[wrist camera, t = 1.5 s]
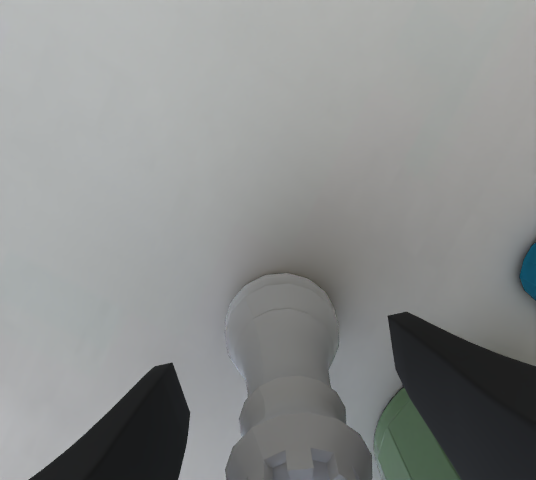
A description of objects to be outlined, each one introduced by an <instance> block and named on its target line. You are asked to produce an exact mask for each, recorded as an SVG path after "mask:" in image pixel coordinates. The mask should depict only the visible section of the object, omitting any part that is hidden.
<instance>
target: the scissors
mask: <svg viewBox="0 0 536 480" xmlns="http://www.w3.org/2000/svg"><path fill="white" fill-rule="evenodd" d="M520 279H521V282H522V285H523V288H524V290H525V291H526V292H527V293H528V294H529V295H530V296H531V297H532V298H533V299H534V300H536V243H535V244H533V245H532V246H531V248H530V250H529V251H528V253H527V255H526V256H525V258H524V261H523V265H522V269H521V273H520Z"/></svg>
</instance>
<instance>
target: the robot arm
mask: <svg viewBox="0 0 536 480" xmlns="http://www.w3.org/2000/svg"><path fill="white" fill-rule="evenodd" d="M388 321H389V328H390V335H391V342H392V348H393V355H394V362H395V369H396V371H397V373H398V375H399V377H400V380H401V382H402V384H403V386H404V388H405V390H406V392H407V394H408V396H409V398H410V399H411V401H412V403H413V404H414V406H415V407H416V409H417V410H418V412H419V414H420V415H421V417H422V418H423V420H424V421H425V423H426V424H427V426H428V428H429V429H430V431H431V432H432V434H433V435H434V437H435V438H436V440H437V441H438V443H439V445H440V446H441V448H442V449H443V451H444V452H445V454H446V455H447V457H448V458H449V460H450V462H451V463H452V465H453V466H454V468H455V470H456V472H457V473H458V475H459V477H460V478H461V480H536V366H532V365H529V364H526V363H523V362H520V361H517V360H514V359H511V358H508V357H506V356H503V355H500V354H497V353H495V352H492V351H490V350H487V349H485V348H483V347H480V346H478V345H475V344H473V343H471V342H468V341H466V340H464V339H462V338H459V337H457V336H455V335H453V334H451V333H449V332H447V331H445V330H443V329H441V328H439V327H437V326H435V325H433V324H431V323H429V322H427V321H425V320H423V319H421V318H419V317H417V316H415V315H413V314H410V313H408V312H403V313H398V314H394V315H389V316H388ZM189 418H190V411H189V408H188V406H187V403H186V400H185V397H184V394H183V391H182V388H181V386H180V383H179V380H178V377H177V374H176V371H175V369H174V366H173V363H168V364H164V365H159V366H155V367H154V368H152V369H151V370H150V371H149V372H148V373H147V374H146V375H145V376H144V377H143V378H142V379H141V380H140V381H139V382H138V383H137V384H136V385H135V386H134V387H133V388H132V389H131V390H130V391H129V392H128V393H127V394H126V395H125V396H124V397H123V398H122V399H121V400H120V401H119V402H118V403H117V404H116V405H115V406H114V407H113V408H112V409H111V410H110V411H109V412H108V413H107V414H106V415H105V416H104V417H103V418H102V419H100V420H99V421H98V422H97V423H96V424H95V425H94V426H93V427H92V428H91V429H90V430H89V431H88V432H87V433H86V434H85V435H83V436H82V437H81V438H80V439H79V440H78V441H77V442H76V443H74V444H73V445H72V446H71V447H70V448H69V449H67V450H66V451H65V452H64V453H63V454H61V455H60V456H59V457H58V458H56V459H55V460H54V461H53V462H51V463H50V464H49V465H48V466H46V467H45V468H44V469H43V470H41V471H40V472H39V473H37V474H36V475H34V476H33V477H32V478H30V479H29V480H178V478H179V474H180V470H181V465H182V461H183V457H184V453H185V448H186V444H187V436H188V428H189Z"/></svg>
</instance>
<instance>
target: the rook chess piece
mask: <svg viewBox="0 0 536 480" xmlns="http://www.w3.org/2000/svg"><path fill="white" fill-rule="evenodd" d="M225 324H226V330H225V337H226V344H227V350H228V354H229V357H230V359H231V360H232V362H233V363H234V365H235V367H236V368H237V370H238V371H239V373H240V374H241V375H242V376H243V377H244V379H245V380H246V384H247V390H248V398H247V399H246V400H245V402H244V405H243V408H242V411H241V414H240V417H239V421H240V428H241V435H242V438H241V439H240V440H239V441H238V442H237V443H236V444H235V445H234V446H233V448H232V451H231V454H230V457H229V460H228V463H227V466H226V469H225V472H226V478H227V480H371V479H372V455H371V453H370V451H369V449H368V448H367V446H366V444H365V442H364V441H363V439H362V437H361V435H360V434H359V433H357V432H356V431H354V430H353V429H352V428H350V427H349V426H347V425H346V412H345V406H344V404H343V403H342V401H341V399H340V397H339V396H338V394H337V392H336V391H334V390H333V389H332V388H331V386H330V379H329V368H330V366H331V364H332V362H333V359H334V357H335V354H336V352H337V349H338V347H339V329H338V320H337V318H336V316H335V309H334V307H333V305H332V303H331V301H330V299H329V297H328V296H327V294H326V292H325V291H324V290H322V289H321V288H320V287H319V286H317V285H316V284H315V283H313V282H312V281H311V280H310V279H307V278H304V277H300V276H297V275H293V274H289V273H282V274H272V275H264V276H262V277H260V278H258V279H256V280H254V281H252V282H250V283H248V284H246V285H245V286H244V287H243V288H242V289H241V290H240V292H239V293H238V294H237V295H236V296H235V297H234V298H233V300H232V301H231V303H230V306H229V310H228V313H227V316H226V319H225Z"/></svg>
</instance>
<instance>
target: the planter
mask: <svg viewBox="0 0 536 480" xmlns="http://www.w3.org/2000/svg"><path fill="white" fill-rule="evenodd" d="M374 455H375V459H376V463H377V466H378V469H379V472H380V474H381V478H382V480H461V478H460V477H459V475H458V473H457V472H456V470H455V468H454V466H453V465H452V463H451V462H450V460H449V458H448V457H447V455H446V454H445V452H444V451H443V449H442V448H441V446H440V445H439V443H438V441H437V440H436V438H435V437H434V435H433V434H432V432H431V431H430V429H429V428H428V426H427V424H426V423H425V421H424V420H423V418H422V417H421V415H420V414H419V412H418V410H417V409H416V407H415V406H414V404H413V403H412V401H411V399H410V398H409V396H408V394H407V392H406V390H405V388H402V389H401V390H400V391H399V392H398V393H397V394H396V395H395V396H394V397H393V398H392V400H391V401H390V402H389V404H388V405H387V407H386V408H385V410H384V412H383V413H382V415H381V417H380V419H379V422H378V425H377V427H376V432H375V436H374Z"/></svg>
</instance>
